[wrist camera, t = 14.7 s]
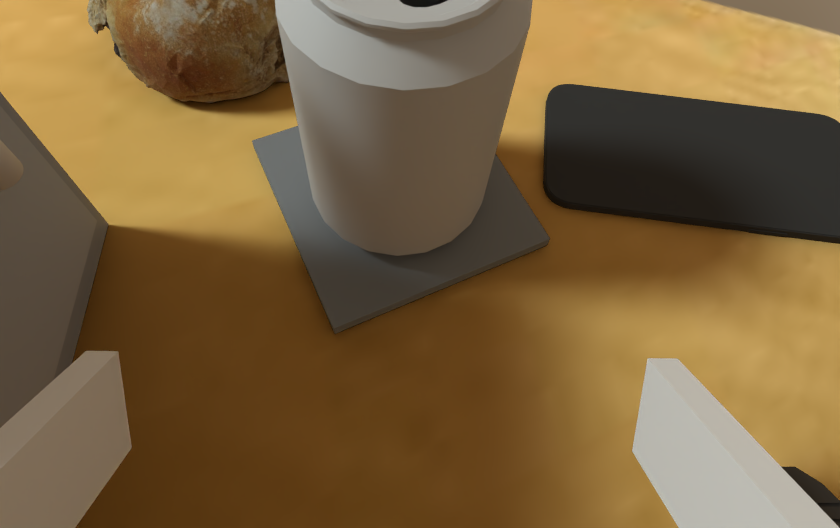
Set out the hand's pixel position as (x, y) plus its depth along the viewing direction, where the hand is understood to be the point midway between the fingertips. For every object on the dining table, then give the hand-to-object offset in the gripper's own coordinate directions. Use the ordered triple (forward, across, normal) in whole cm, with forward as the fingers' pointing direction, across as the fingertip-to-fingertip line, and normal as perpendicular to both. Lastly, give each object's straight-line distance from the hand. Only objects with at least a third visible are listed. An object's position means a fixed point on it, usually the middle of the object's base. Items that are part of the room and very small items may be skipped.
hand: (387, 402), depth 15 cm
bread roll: (+20, -10, +9) cm, 24 cm away
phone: (+16, +15, +4) cm, 22 cm away
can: (+13, 0, +3) cm, 13 cm away
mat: (+14, 0, +2) cm, 14 cm away
